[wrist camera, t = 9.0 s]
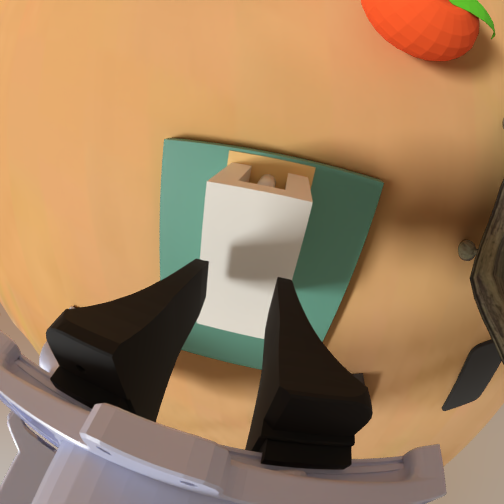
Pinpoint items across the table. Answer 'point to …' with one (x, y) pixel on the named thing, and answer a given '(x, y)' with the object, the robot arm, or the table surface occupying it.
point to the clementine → (428, 25)
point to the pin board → (313, 246)
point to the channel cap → (249, 246)
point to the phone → (474, 375)
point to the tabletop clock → (489, 272)
